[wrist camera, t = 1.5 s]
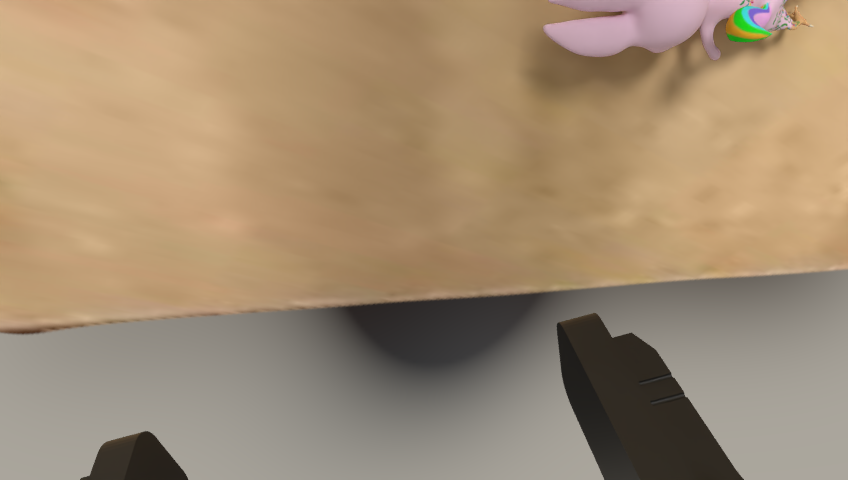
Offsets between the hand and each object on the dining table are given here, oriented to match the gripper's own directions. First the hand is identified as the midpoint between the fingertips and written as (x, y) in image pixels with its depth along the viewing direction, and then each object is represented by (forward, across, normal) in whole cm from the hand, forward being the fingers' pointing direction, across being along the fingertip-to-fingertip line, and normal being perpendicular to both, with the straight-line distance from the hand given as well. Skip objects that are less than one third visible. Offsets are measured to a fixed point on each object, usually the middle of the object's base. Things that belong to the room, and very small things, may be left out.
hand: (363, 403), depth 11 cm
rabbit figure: (+23, -18, +1) cm, 29 cm away
